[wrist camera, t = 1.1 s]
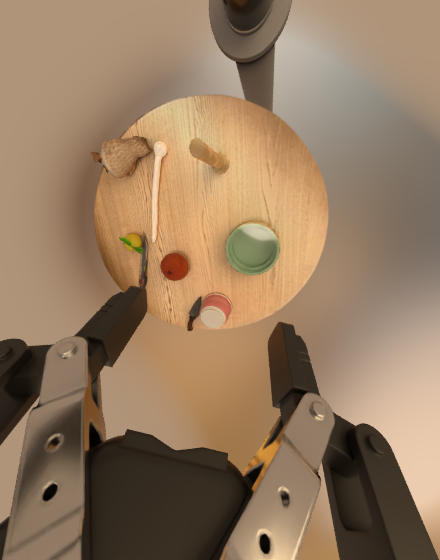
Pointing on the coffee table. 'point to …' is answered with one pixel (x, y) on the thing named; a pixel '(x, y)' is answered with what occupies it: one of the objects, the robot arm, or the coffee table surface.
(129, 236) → the lemon
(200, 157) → the stick
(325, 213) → the coffee table surface
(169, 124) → the coffee table surface
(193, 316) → the knife
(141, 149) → the figurine
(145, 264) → the knife
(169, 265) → the fruit
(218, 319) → the container
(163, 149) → the cream knobbed rod
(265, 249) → the bowl
